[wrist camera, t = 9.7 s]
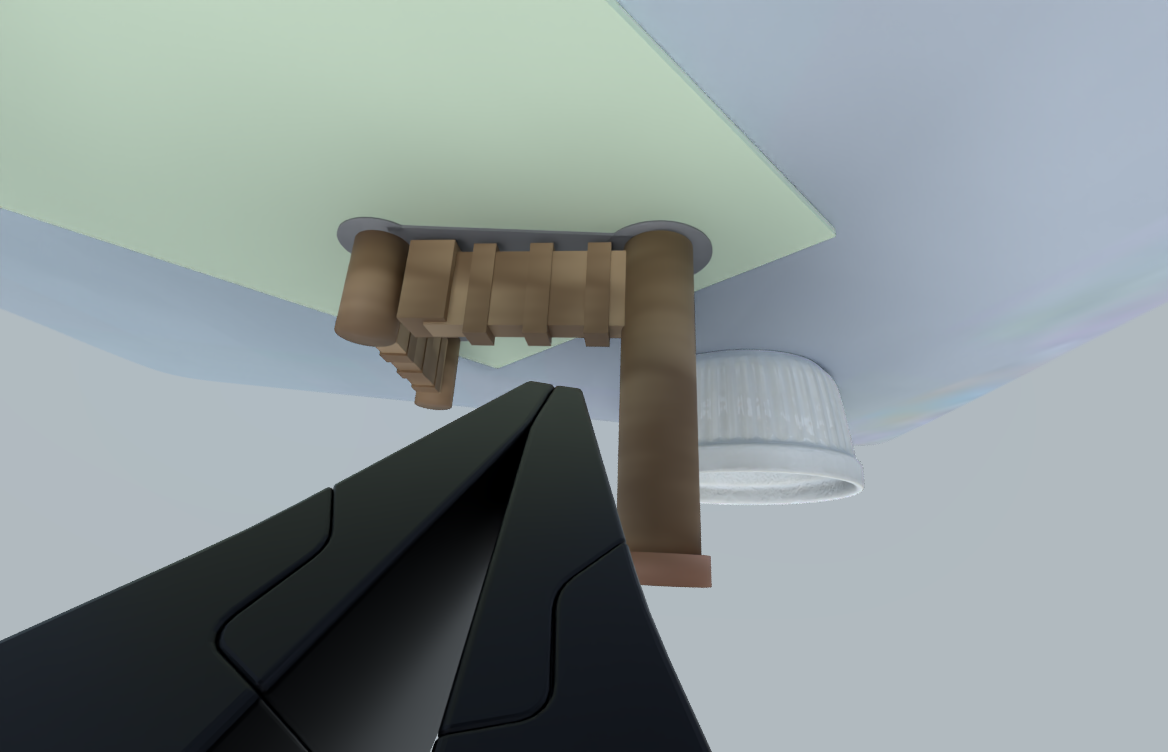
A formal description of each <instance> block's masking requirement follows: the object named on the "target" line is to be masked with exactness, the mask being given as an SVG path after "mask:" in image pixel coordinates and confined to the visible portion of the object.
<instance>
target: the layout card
mask: <svg viewBox="0 0 1168 752" xmlns="http://www.w3.org/2000/svg"><path fill="white" fill-rule="evenodd" d="M0 208H3V209H6V210H9V211H12V212H15V213H18V214H21V215H24V216H27V217H31V218H34V219H37V220H40V221H43V222H46V223H49V224H52V225H55V226H58V227H61V228H65V229H68V230H71V231H74V232H77V233H80V234H83V235H86V236H89V237H92V238H95V239H98V240H102V241H105V242H108V243H111V244H114V245H117V246H120V247H123V248H126V249H129V250H132V251H136V252H139V253H142V254H145V255H148V256H151V257H154V258H157V259H160V260H163V261H166V262H169V263H173V264H176V265H179V266H182V267H185V268H188V269H191V270H194V271H197V272H200V273H203V274H207V275H210V276H213V277H216V278H219V279H222V280H225V281H228V282H231V283H234V284H237V285H241V286H244V287H247V288H250V289H253V290H256V291H259V292H262V293H265V294H268V295H271V296H274V297H278V298H281V299H284V300H287V301H290V302H293V303H296V304H299V305H302V306H305V307H308V308H312V309H315V310H318V311H321V312H324V313H327V314H330V315H333V316H336V317H337V315H338V311H339V306H340V302H341V297H342V293H343V288H344V284H345V279H346V275H347V271H348V266H349V262H350V257H351V253H352V248H353V244H354V239H355V236H356V235H357V234H358V233H359V232H361V231H365V230H380V231H385V232H389V233H391V234H394V235H396V236H398V237H400V238H402V239H403V240H405V241H406V242H407V243H408V244H409V245H410V241H411V240H456V242H457V244H458V246H459V248H460V249H461V251H462V252H473V248H474V244H478V243H497V246H498V248H499V251H500V252H502V251H530V243H553V244H554V248H555V251H587V250H588V242H611V246H612V251H623V249H624V246H625V244H626V243H627V241H629V240H630V239H631V238H632V237H634V236H636V235H638V234H641V233H644V232H648V231H655V230H665V231H672V232H676V233H679V234H682V235H683V236H685V237H686V238H688V239H689V240H690V241H691V243H692V245H693V267H694V292H695V291H698V290H700V289H703V288H705V287H708V286H710V285H713V284H715V283H718V282H721V281H723V280H726V279H728V278H731V277H733V276H736V275H739V274H741V273H744V272H746V271H749V270H751V269H754V268H756V267H759V266H762V265H764V264H767V263H769V262H772V261H774V260H777V259H780V258H782V257H785V256H787V255H790V254H792V253H795V252H797V251H800V250H803V249H805V248H808V247H810V246H813V245H815V244H818V243H820V242H823V241H826V240H828V239H831V238H833V237H836V233H835V228H834V227H833V226H832V225H831V224H830V223H829V222H828V221H827V220H826V219H825V218H824V217H823V216H822V215H821V214H820V213H819V212H818V211H817V210H816V209H815V208H814V207H813V206H812V205H811V203H810V202H809V201H808V200H807V199H806V198H805V197H804V196H803V195H802V194H801V193H800V192H799V191H798V190H797V189H796V188H795V187H794V186H793V185H792V184H791V183H790V182H789V181H788V180H787V178H786V177H785V176H784V175H783V174H782V173H781V172H780V171H779V170H778V169H777V168H776V167H775V166H774V165H773V164H772V163H771V162H770V161H769V160H768V159H767V158H766V157H765V156H764V155H763V153H762V152H761V151H760V150H759V149H758V148H757V147H756V146H755V145H754V144H753V143H752V142H751V141H750V140H749V139H748V138H747V137H746V136H745V135H744V134H743V133H742V132H741V131H740V130H739V128H738V127H737V126H736V125H735V124H734V123H733V122H732V121H731V120H730V119H729V118H728V117H727V116H726V115H725V114H724V113H723V112H722V111H721V110H720V109H719V108H718V107H717V106H716V105H715V104H714V102H713V101H712V100H711V99H710V98H709V97H708V96H707V95H706V94H705V93H704V92H703V91H702V90H701V89H700V88H699V87H698V86H697V85H696V84H695V83H694V82H693V81H692V80H691V79H690V77H689V76H688V75H687V74H686V73H685V72H684V71H683V70H682V69H681V68H680V67H679V66H678V65H677V64H676V63H675V62H674V61H673V60H672V59H671V58H670V57H669V56H668V55H667V54H666V52H665V51H664V50H663V49H662V48H661V47H660V46H659V45H658V44H657V43H656V42H655V41H654V40H653V39H652V38H651V37H650V36H649V35H648V34H647V33H646V32H645V31H644V30H643V29H642V27H641V26H640V25H639V24H638V23H637V22H636V21H635V20H634V19H633V18H632V17H631V16H630V15H629V14H628V13H627V12H626V11H625V10H624V9H623V8H622V7H621V6H620V5H619V4H618V2H617V1H616V0H0ZM459 338H460V340H461V342H460V350H459V356H460V357H463V358H466V359H469V360H472V361H475V362H478V363H481V364H484V365H487V366H491V367H494V368H497V369H498V368H500V367H503V366H506V365H508V364H511V363H513V362H516V361H518V360H521V359H523V358H526V357H529V356H531V355H534V354H536V353H539V352H541V351H544V350H547V349H549V348H552V347H554V346H557V345H559V344H562V343H564V342H567V341H570V340H572V339H575V338H552V343H551V346H528V344H527V342H526V340H525V338H524V337H495V343H494V346H481V345H471V344H470V342H469V341H468V340H467V338H466V337H459Z"/></svg>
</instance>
